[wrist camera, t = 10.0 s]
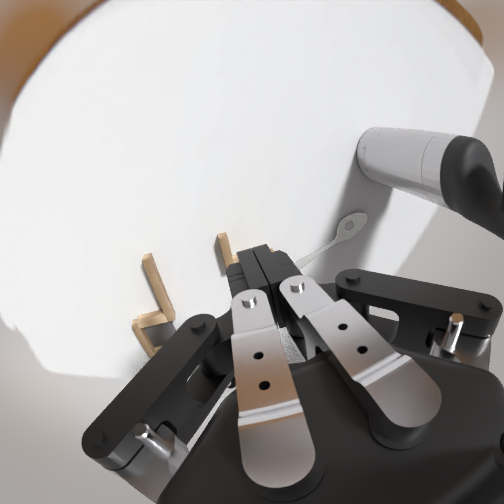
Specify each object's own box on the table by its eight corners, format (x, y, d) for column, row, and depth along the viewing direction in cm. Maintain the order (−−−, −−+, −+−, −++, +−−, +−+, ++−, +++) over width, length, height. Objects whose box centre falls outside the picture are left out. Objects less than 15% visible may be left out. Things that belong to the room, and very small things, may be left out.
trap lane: (267, 221, 40) (273, 228, 37) (286, 336, 50) (291, 346, 47) (107, 265, 37) (102, 275, 34) (161, 368, 47) (161, 380, 44)
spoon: (367, 222, 44) (372, 225, 43) (271, 294, 46) (274, 300, 44) (358, 203, 42) (363, 206, 41) (258, 278, 44) (260, 284, 42)
